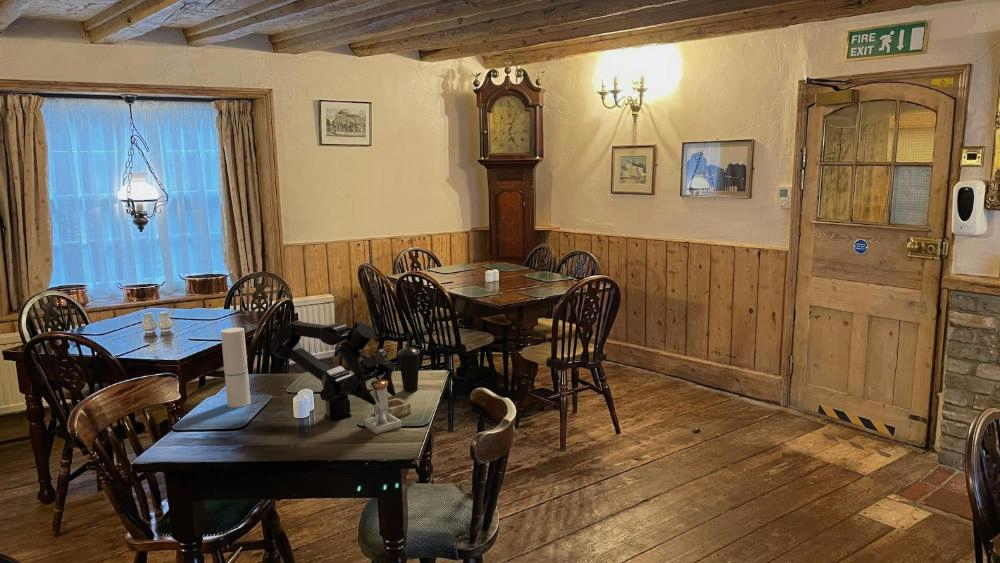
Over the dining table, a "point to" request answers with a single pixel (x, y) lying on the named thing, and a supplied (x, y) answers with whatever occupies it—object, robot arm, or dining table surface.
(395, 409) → the socket block
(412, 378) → the drinking cup
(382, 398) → the copper-capped peg
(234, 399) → the cylindrical container
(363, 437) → the dining table surface
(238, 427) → the dining table surface
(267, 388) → the dining table surface
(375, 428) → the tray
